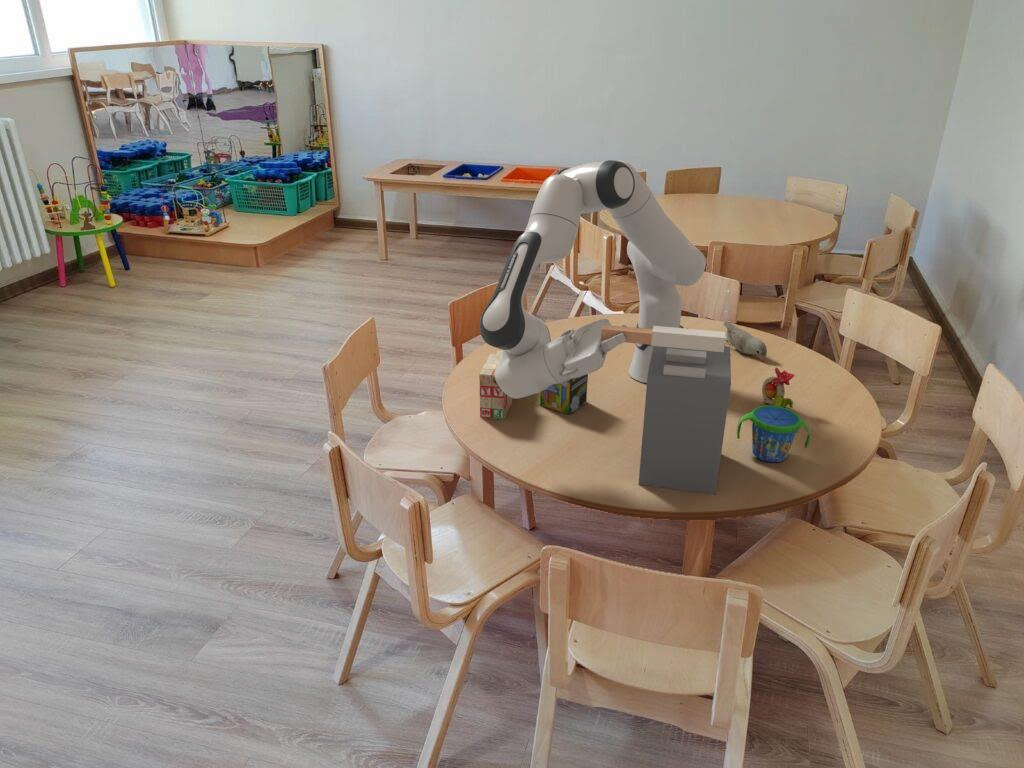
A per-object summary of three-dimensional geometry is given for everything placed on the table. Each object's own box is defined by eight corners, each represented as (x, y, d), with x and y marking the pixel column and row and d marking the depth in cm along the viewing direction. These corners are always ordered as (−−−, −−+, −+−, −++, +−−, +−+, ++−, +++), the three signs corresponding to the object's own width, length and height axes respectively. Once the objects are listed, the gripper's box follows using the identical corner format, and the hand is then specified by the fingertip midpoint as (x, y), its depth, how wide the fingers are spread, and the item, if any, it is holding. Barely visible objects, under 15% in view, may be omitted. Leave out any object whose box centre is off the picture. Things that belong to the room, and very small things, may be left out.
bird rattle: (756, 413, 198) (782, 414, 190) (749, 370, 197) (775, 369, 189) (774, 408, 200) (800, 409, 192) (767, 366, 199) (794, 365, 191)
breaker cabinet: (638, 484, 164) (648, 367, 152) (645, 442, 180) (655, 333, 168) (715, 494, 161) (732, 375, 149) (716, 451, 177) (731, 340, 165)
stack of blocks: (497, 381, 210) (497, 339, 205) (520, 383, 209) (520, 341, 204) (479, 418, 191) (478, 373, 186) (504, 420, 190) (504, 375, 185)
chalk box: (557, 392, 204) (559, 340, 197) (587, 402, 199) (590, 349, 192) (538, 406, 197) (539, 352, 190) (569, 415, 192) (571, 361, 186)
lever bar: (600, 340, 156) (601, 327, 154) (603, 334, 158) (603, 321, 157) (723, 352, 151) (725, 338, 149) (723, 346, 153) (725, 332, 152)
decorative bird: (757, 364, 220) (761, 340, 217) (715, 346, 232) (718, 322, 229) (770, 360, 223) (774, 336, 220) (727, 342, 235) (730, 319, 232)
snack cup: (806, 450, 177) (814, 411, 173) (804, 473, 168) (812, 433, 164) (736, 438, 182) (742, 399, 178) (731, 459, 173) (736, 420, 169)
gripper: (549, 365, 151) (612, 338, 145) (567, 327, 169) (624, 302, 163) (564, 392, 153) (627, 366, 147) (580, 352, 171) (637, 327, 165)
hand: (626, 332), depth 155 cm, fingers closed on lever bar, 2 cm apart
